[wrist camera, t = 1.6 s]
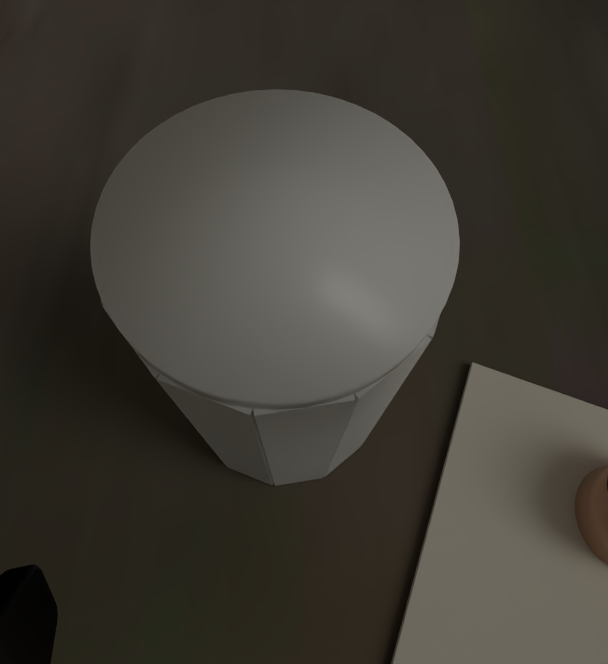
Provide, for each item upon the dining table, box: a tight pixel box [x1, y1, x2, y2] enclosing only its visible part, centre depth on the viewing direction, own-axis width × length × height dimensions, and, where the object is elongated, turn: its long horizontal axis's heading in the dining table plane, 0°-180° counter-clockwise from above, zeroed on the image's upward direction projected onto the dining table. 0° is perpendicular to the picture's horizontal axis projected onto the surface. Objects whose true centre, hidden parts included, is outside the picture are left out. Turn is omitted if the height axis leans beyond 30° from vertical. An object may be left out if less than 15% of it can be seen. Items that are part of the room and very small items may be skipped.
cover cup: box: [90, 90, 460, 486], centre depth 16 cm, size 7×7×12 cm
